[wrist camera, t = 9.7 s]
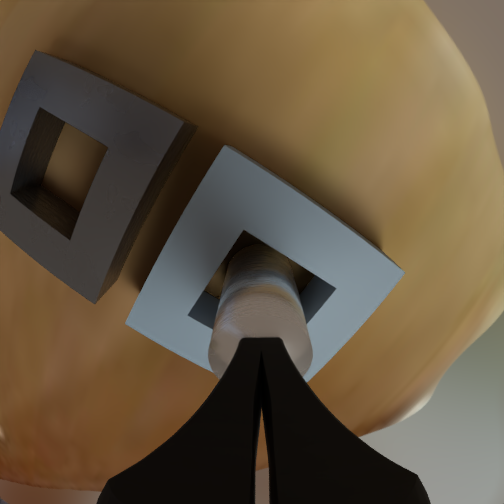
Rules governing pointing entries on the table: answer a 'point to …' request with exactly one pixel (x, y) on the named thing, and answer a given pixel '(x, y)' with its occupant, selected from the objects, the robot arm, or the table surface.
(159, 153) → the charcoal stand
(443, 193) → the table surface
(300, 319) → the aluminium peg
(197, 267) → the block
